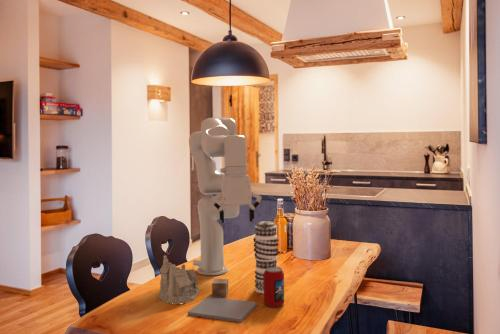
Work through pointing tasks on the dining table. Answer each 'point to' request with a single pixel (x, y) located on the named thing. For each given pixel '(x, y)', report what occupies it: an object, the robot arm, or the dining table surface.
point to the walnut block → (220, 288)
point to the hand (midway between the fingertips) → (236, 221)
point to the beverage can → (273, 286)
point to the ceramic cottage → (177, 283)
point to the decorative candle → (264, 251)
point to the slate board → (223, 309)
